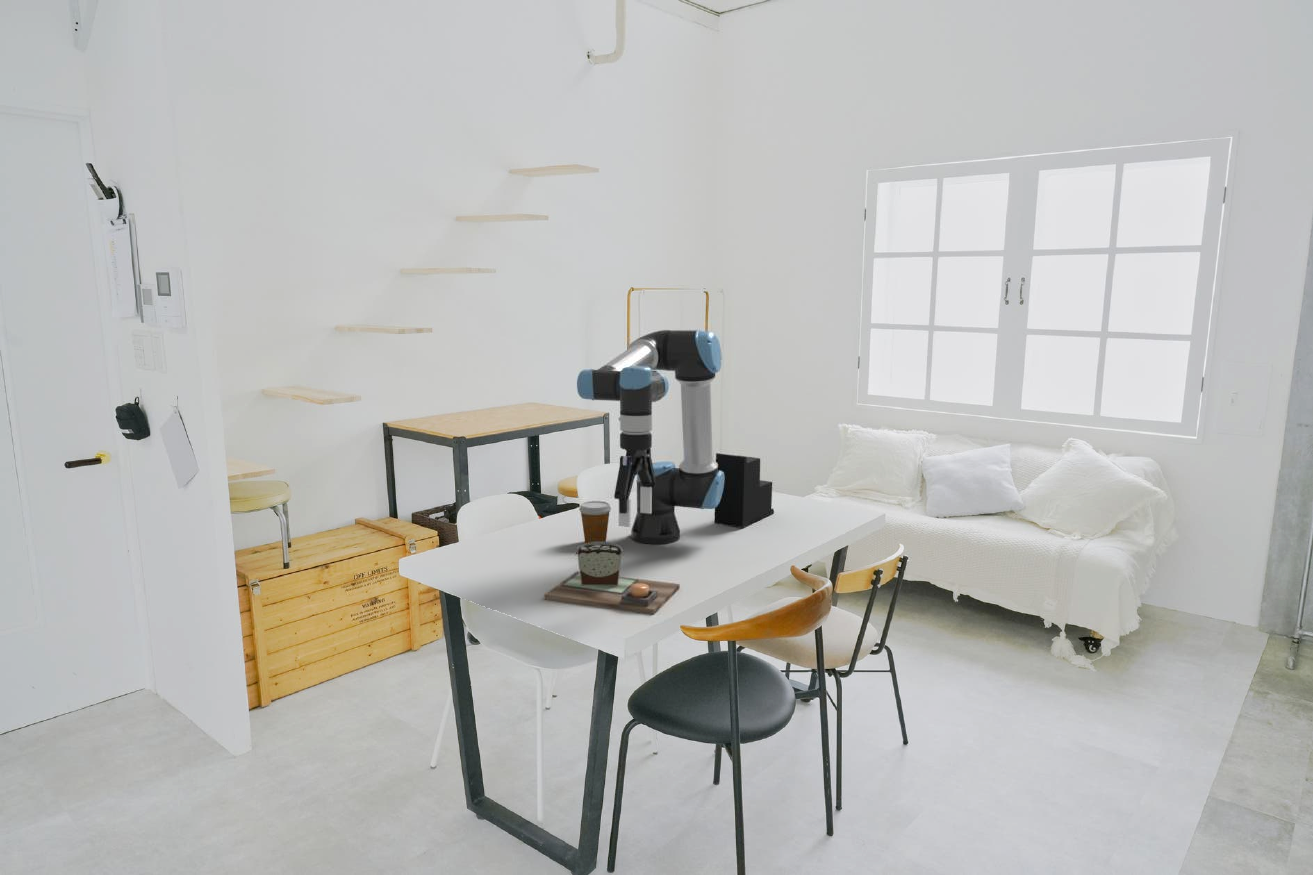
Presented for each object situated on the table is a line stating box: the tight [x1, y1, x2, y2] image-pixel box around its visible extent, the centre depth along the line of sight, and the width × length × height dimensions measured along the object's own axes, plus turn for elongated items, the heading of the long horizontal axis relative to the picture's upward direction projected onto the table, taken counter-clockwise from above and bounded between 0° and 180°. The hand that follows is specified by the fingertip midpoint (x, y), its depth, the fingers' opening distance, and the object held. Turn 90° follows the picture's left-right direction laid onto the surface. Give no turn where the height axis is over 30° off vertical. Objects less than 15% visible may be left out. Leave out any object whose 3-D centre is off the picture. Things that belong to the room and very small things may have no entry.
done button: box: [631, 583, 649, 597], centre depth 213 cm, size 4×4×2 cm
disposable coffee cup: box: [578, 500, 612, 543], centre depth 263 cm, size 10×10×12 cm
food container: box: [574, 541, 625, 586], centre depth 225 cm, size 12×6×10 cm, turn 89°
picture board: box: [544, 570, 681, 615], centre depth 221 cm, size 19×29×3 cm, turn 70°
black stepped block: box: [714, 453, 775, 528], centre depth 291 cm, size 23×11×24 cm, turn 147°
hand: (635, 519), depth 210 cm, fingers open, 13 cm apart
